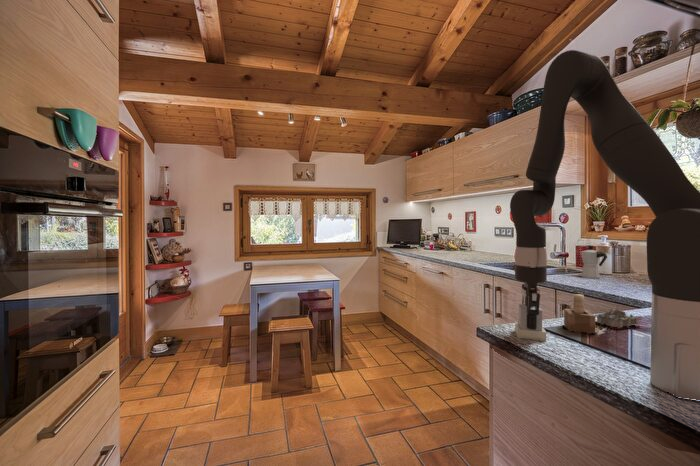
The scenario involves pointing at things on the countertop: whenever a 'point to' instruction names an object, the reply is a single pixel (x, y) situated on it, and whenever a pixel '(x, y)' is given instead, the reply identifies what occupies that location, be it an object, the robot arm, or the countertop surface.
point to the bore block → (579, 321)
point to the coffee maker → (591, 262)
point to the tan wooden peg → (578, 304)
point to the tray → (530, 333)
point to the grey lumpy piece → (616, 318)
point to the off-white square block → (523, 318)
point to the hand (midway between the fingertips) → (529, 325)
